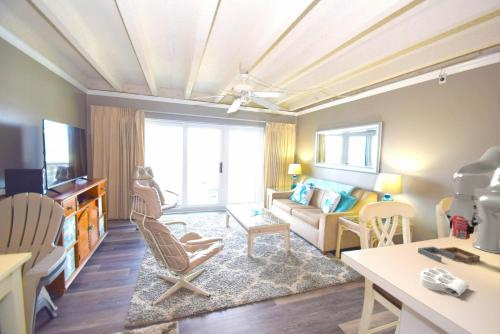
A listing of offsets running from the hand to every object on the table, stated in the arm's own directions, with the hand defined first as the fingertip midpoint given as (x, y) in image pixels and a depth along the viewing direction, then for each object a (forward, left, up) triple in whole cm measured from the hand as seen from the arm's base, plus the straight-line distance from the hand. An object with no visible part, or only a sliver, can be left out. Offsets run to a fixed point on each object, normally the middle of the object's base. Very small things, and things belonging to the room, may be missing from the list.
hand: (460, 230), depth 114 cm
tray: (0, 0, -14) cm, 14 cm away
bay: (+12, -3, -14) cm, 19 cm away
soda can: (0, 0, -4) cm, 4 cm away
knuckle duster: (+37, +16, -15) cm, 43 cm away
